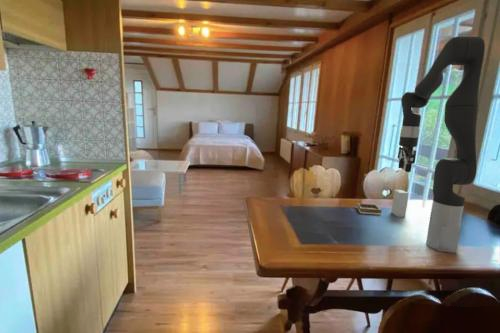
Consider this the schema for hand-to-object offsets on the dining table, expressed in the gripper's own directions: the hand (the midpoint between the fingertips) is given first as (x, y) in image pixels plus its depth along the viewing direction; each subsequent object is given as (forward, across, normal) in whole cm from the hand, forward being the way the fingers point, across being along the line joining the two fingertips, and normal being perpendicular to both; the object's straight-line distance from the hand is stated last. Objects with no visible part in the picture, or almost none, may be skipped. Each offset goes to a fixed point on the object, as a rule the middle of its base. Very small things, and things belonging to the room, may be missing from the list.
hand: (404, 169), depth 133 cm
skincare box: (+23, 0, 0) cm, 23 cm away
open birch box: (+23, +2, +13) cm, 26 cm away
